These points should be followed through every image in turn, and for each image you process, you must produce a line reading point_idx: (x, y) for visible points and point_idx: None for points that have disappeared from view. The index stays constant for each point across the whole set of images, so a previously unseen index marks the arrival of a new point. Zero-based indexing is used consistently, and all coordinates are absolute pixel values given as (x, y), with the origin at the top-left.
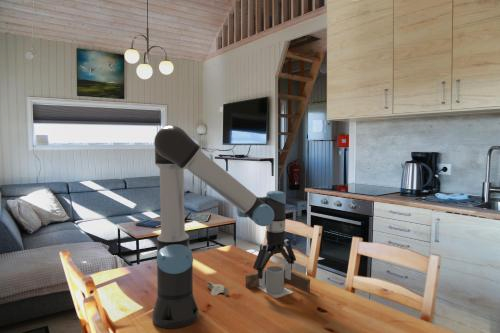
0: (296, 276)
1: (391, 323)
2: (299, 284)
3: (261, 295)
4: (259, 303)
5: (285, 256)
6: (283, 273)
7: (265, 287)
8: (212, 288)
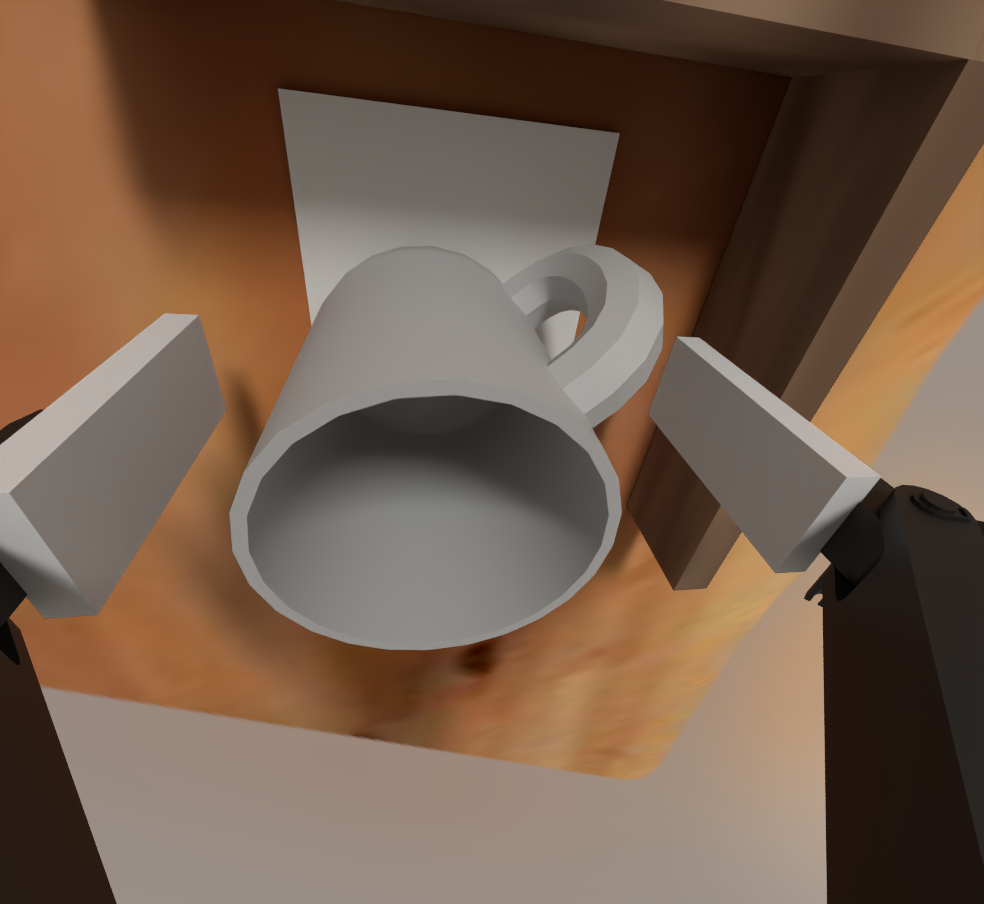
0: None
1: (581, 756)
2: (672, 455)
3: (220, 341)
4: None
5: (841, 751)
6: (495, 593)
7: (390, 196)
8: None
